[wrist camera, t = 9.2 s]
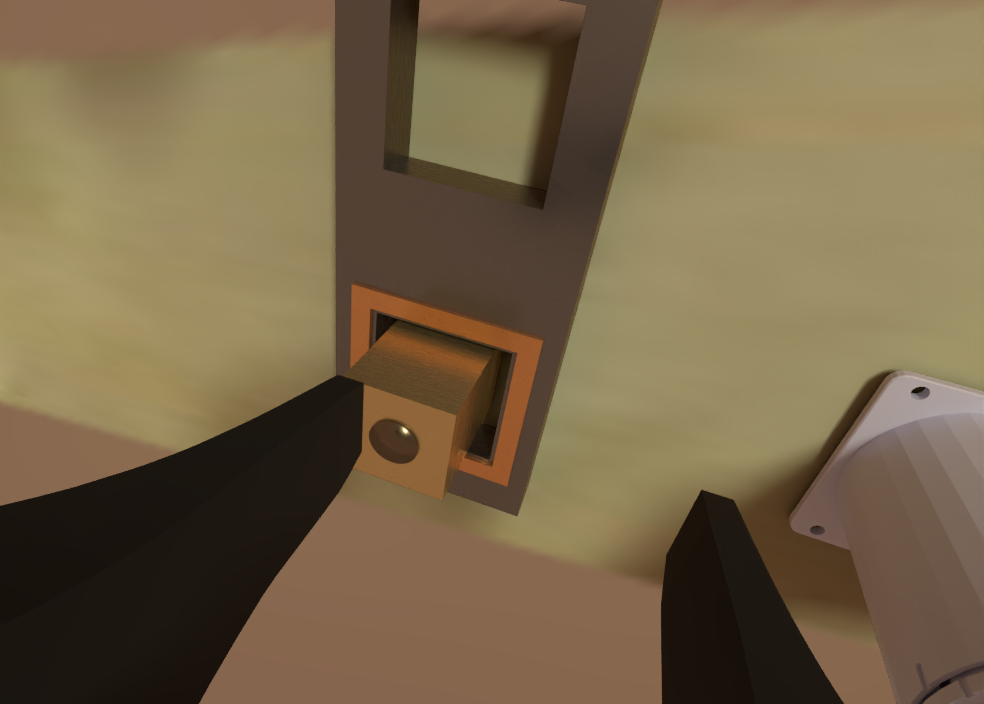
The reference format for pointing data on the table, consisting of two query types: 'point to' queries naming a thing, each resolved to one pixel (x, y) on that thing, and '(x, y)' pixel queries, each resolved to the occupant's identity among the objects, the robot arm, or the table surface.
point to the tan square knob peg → (422, 404)
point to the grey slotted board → (475, 221)
